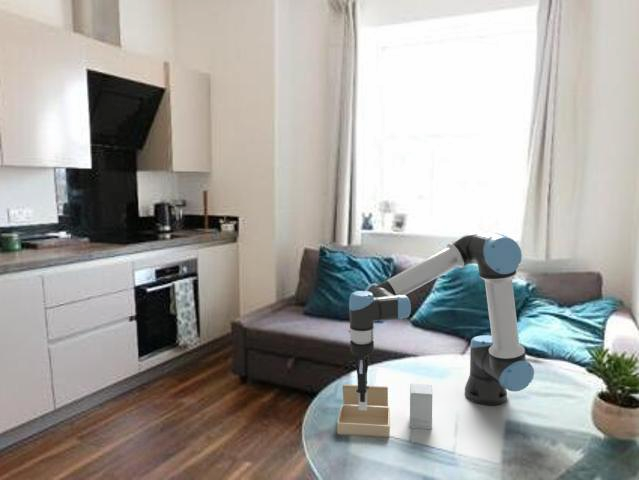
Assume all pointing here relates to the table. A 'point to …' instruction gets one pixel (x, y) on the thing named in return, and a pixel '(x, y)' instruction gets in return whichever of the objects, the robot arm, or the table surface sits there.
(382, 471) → the table surface
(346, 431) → the box
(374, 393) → the lid flap
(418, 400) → the supplement box
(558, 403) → the table surface
